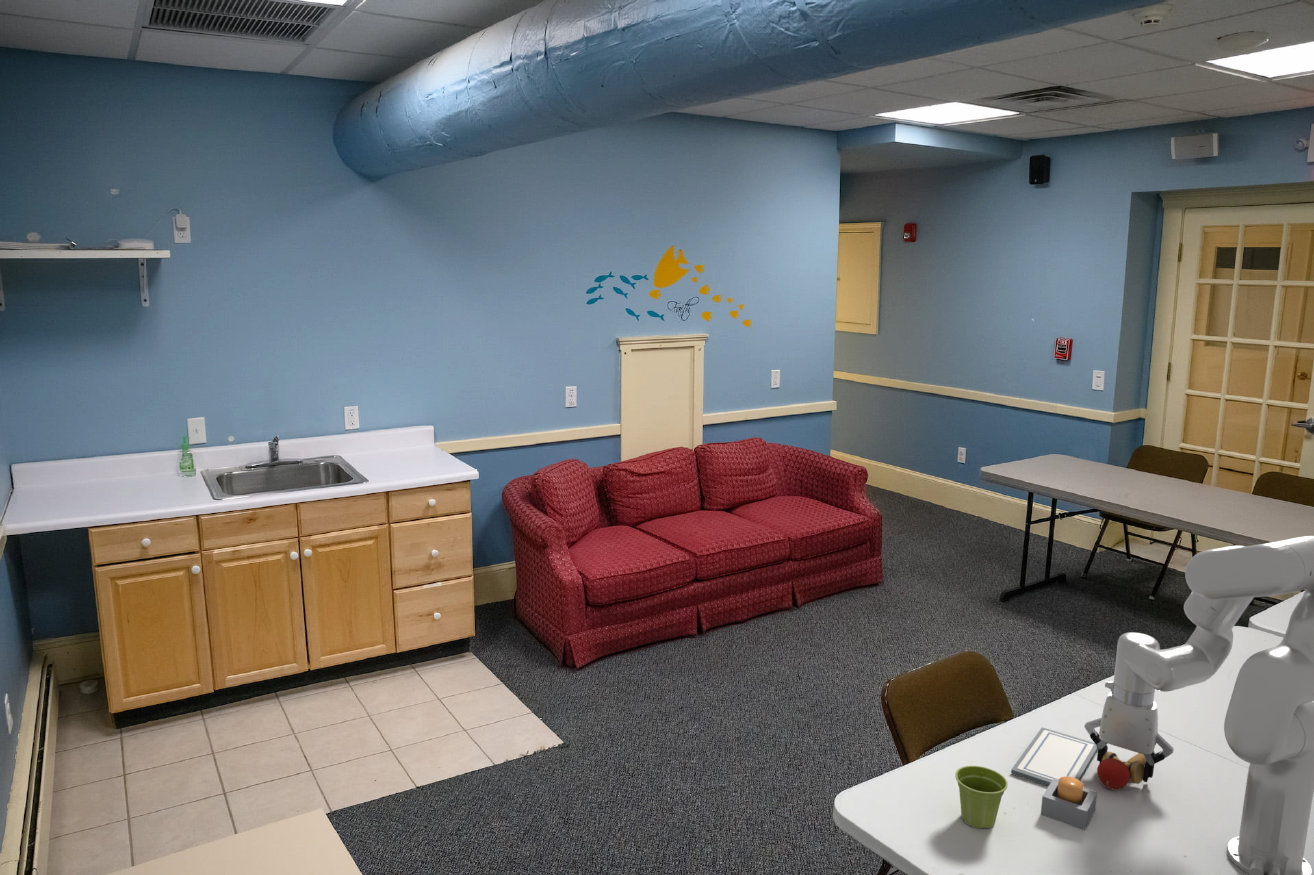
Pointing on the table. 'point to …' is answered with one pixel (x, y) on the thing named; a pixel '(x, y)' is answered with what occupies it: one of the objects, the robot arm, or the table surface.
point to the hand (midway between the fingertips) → (1124, 771)
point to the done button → (1070, 789)
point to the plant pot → (980, 794)
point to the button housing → (1068, 807)
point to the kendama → (1120, 770)
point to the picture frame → (1054, 757)
